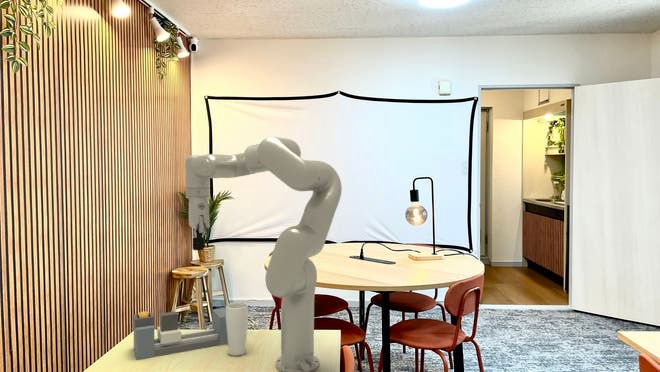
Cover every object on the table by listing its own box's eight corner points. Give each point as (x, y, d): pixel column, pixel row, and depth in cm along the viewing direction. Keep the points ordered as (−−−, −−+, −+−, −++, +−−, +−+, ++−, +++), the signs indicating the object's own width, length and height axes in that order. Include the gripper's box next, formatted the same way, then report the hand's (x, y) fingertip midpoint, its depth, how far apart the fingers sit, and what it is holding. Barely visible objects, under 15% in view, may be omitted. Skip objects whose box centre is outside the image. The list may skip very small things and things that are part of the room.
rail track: (226, 333, 158) (226, 300, 157) (234, 342, 149) (234, 307, 149) (133, 348, 143) (132, 312, 143) (136, 359, 135) (135, 321, 134)
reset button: (148, 320, 142) (147, 310, 142) (149, 322, 139) (149, 313, 139) (138, 321, 141) (138, 312, 141) (139, 324, 138) (139, 314, 138)
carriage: (176, 333, 149) (176, 309, 148) (181, 341, 142) (181, 315, 141) (157, 336, 146) (157, 311, 146) (161, 344, 139) (160, 318, 139)
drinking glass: (242, 358, 136) (242, 309, 136) (222, 356, 137) (221, 307, 137) (251, 349, 143) (251, 302, 142) (231, 348, 144) (231, 301, 144)
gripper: (215, 194, 141) (215, 252, 142) (204, 192, 154) (204, 245, 155) (190, 194, 138) (190, 254, 138) (181, 192, 151) (181, 247, 151)
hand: (198, 249), depth 146 cm, fingers closed
